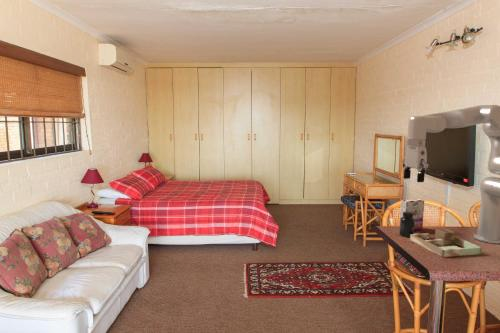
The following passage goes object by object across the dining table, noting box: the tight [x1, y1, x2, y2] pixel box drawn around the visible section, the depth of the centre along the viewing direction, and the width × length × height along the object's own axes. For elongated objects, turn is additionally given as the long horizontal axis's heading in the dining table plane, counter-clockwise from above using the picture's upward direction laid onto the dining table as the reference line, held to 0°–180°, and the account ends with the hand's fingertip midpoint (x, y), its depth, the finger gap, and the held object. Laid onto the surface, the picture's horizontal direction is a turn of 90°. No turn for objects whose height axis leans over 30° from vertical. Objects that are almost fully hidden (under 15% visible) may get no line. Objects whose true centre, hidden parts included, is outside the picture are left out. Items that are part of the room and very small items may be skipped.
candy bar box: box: [399, 198, 425, 231], centre depth 193 cm, size 11×5×16 cm, turn 105°
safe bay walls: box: [439, 240, 483, 257], centre depth 161 cm, size 19×9×3 cm, turn 102°
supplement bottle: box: [398, 212, 415, 238], centre depth 182 cm, size 7×7×12 cm
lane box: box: [409, 232, 466, 258], centre depth 167 cm, size 20×22×3 cm
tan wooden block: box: [434, 228, 456, 246], centre depth 173 cm, size 6×6×6 cm
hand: (413, 180), depth 165 cm, fingers open, 9 cm apart
